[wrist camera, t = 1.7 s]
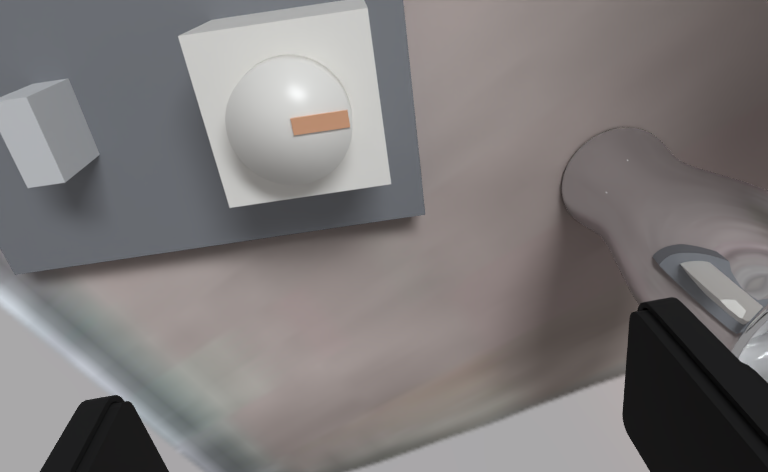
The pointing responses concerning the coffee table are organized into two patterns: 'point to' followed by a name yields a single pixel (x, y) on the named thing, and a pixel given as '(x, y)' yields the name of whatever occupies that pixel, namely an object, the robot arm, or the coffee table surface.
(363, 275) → the coffee table surface
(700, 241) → the beer glass
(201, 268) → the coffee table surface
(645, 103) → the coffee table surface
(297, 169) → the knob
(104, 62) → the flat gray board
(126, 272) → the coffee table surface
